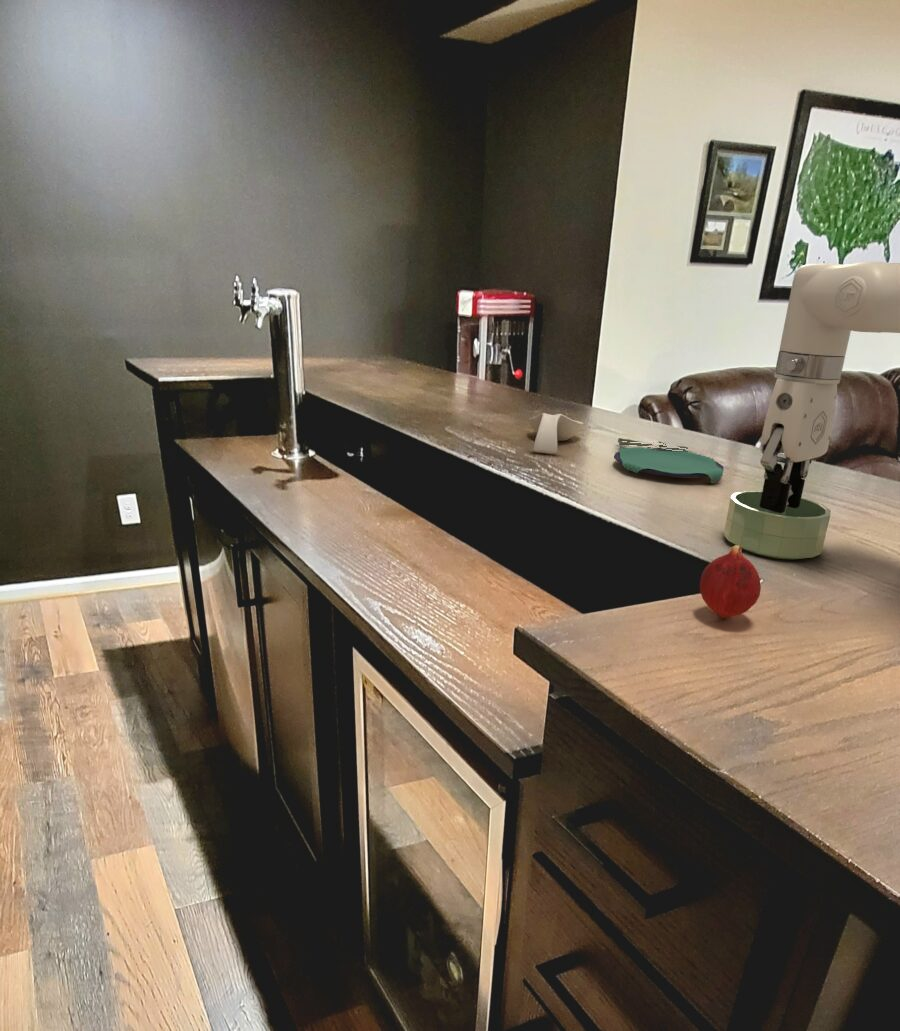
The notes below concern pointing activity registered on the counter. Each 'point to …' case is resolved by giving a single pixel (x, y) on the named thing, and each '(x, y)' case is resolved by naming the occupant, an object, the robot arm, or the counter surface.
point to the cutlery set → (667, 461)
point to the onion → (730, 584)
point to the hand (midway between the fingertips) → (779, 506)
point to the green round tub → (776, 527)
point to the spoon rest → (552, 431)
